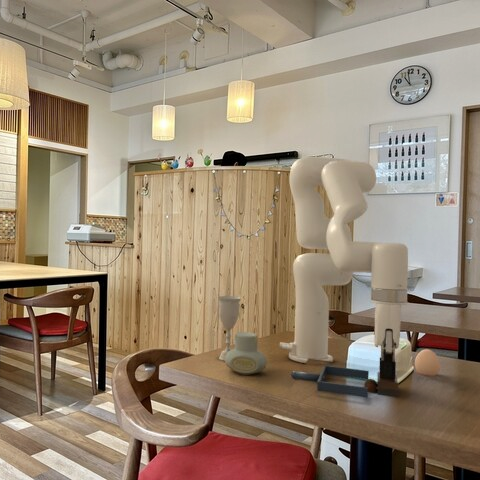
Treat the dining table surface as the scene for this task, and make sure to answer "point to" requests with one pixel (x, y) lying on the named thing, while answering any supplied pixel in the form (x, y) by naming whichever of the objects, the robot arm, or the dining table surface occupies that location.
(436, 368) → the egg
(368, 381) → the crumb
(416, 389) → the dining table surface
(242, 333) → the air freshener
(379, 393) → the wooden stamp
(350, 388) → the dustpan
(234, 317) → the chalice
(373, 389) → the crumb
